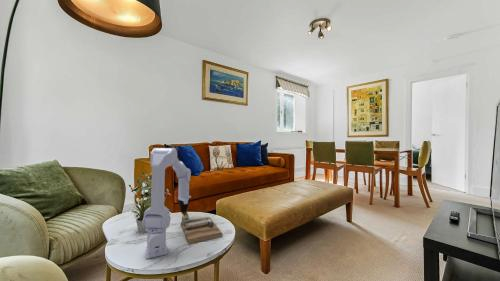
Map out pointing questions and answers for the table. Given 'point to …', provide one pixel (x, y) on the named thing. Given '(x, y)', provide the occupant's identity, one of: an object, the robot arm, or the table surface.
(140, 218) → the house plant
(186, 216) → the brass catch
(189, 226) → the clamp bar
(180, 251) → the table surface
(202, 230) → the walnut board
